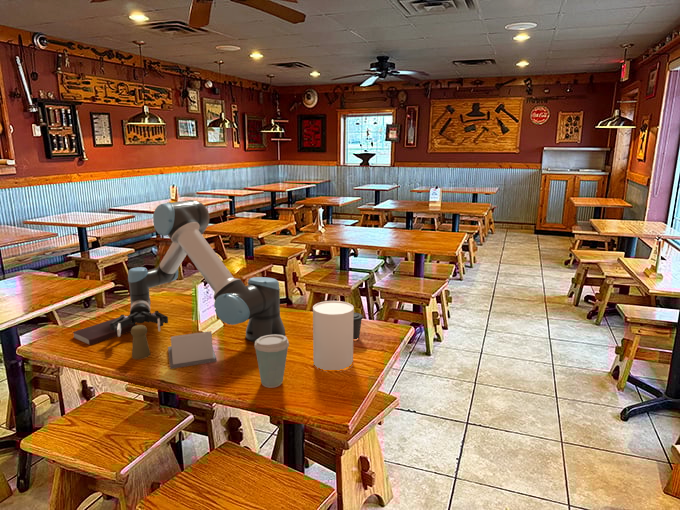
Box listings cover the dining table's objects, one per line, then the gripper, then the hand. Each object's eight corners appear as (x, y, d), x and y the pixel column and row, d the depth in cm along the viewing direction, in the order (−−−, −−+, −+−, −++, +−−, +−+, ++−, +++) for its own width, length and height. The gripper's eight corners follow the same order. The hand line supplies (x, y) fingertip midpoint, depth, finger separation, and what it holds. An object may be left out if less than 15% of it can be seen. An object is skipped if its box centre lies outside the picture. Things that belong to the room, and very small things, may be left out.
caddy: (168, 349, 167) (165, 322, 165) (210, 343, 173) (209, 317, 171) (170, 368, 153) (167, 339, 151) (216, 361, 159) (214, 332, 156)
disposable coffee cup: (248, 385, 143) (246, 339, 139) (271, 371, 152) (270, 328, 148) (274, 395, 137) (272, 348, 134) (296, 380, 146) (296, 336, 142)
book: (137, 330, 186) (137, 323, 186) (89, 346, 171) (88, 338, 170) (120, 324, 193) (119, 316, 193) (72, 339, 178) (71, 331, 177)
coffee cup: (339, 341, 175) (339, 316, 173) (344, 333, 183) (344, 309, 181) (360, 343, 173) (360, 318, 171) (364, 335, 181) (364, 311, 179)
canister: (331, 376, 149) (331, 317, 144) (305, 362, 159) (304, 306, 154) (361, 363, 158) (362, 307, 153) (334, 350, 167) (334, 298, 163)
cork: (145, 350, 167) (142, 321, 164) (153, 355, 163) (151, 325, 161) (128, 356, 162) (125, 326, 160) (137, 360, 159) (134, 330, 156)
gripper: (173, 316, 193) (176, 335, 174) (107, 324, 184) (102, 345, 165) (172, 299, 191) (174, 316, 172) (105, 306, 182) (99, 325, 163)
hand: (139, 330), depth 168 cm, fingers open, 13 cm apart
